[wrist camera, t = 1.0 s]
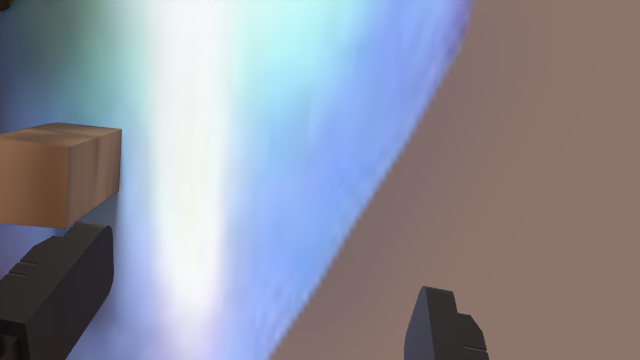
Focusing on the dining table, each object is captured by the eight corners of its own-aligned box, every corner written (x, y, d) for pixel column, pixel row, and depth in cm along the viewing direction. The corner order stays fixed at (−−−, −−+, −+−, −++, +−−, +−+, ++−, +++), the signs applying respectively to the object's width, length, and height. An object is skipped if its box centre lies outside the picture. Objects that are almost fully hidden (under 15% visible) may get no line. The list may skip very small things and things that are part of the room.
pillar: (54, 184, 38) (-22, 221, 29) (56, 122, 37) (-22, 138, 28) (118, 190, 39) (65, 228, 29) (121, 129, 38) (67, 147, 28)
